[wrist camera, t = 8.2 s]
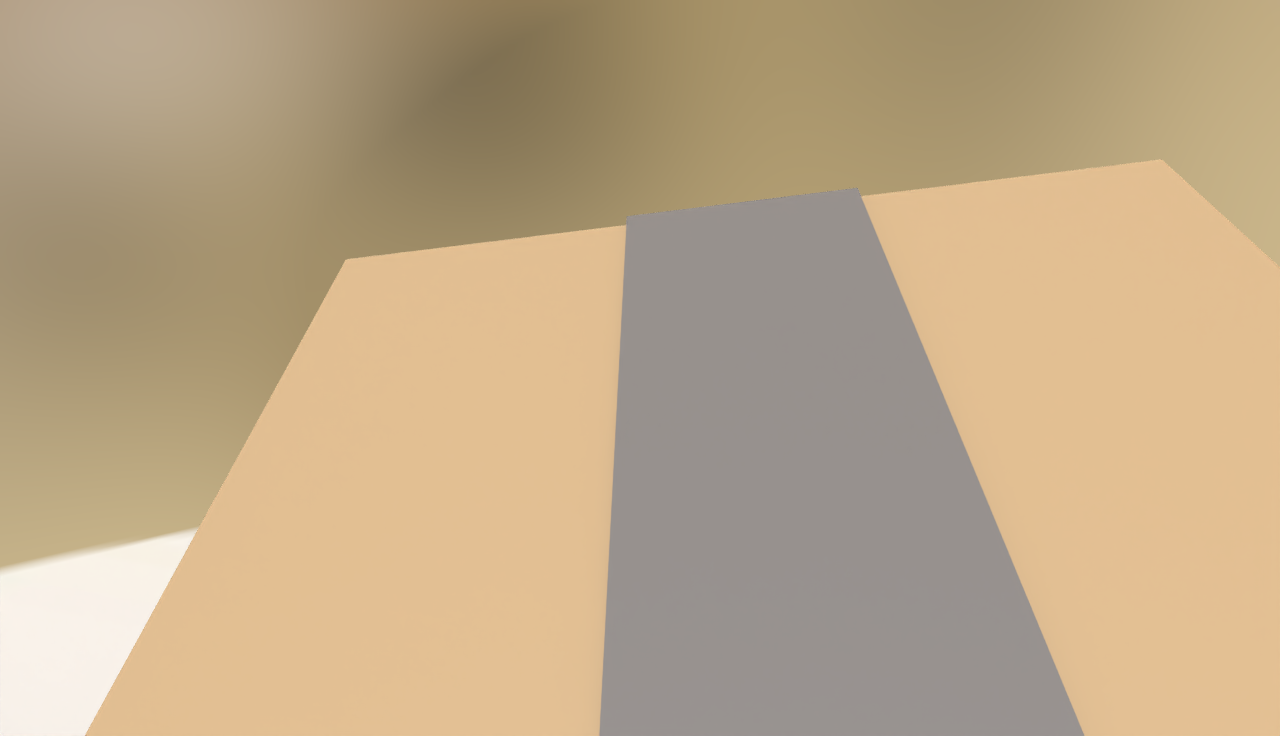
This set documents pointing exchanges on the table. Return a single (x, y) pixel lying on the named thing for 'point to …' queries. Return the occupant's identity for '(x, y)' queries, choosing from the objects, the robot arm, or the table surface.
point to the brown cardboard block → (760, 482)
